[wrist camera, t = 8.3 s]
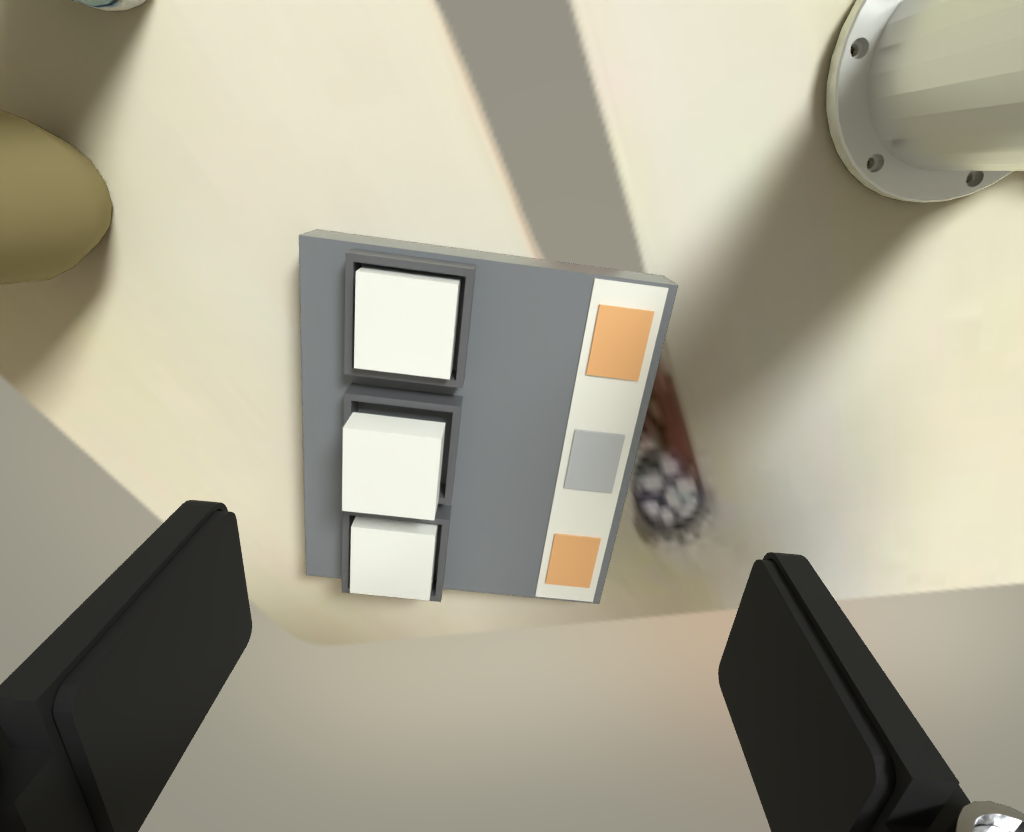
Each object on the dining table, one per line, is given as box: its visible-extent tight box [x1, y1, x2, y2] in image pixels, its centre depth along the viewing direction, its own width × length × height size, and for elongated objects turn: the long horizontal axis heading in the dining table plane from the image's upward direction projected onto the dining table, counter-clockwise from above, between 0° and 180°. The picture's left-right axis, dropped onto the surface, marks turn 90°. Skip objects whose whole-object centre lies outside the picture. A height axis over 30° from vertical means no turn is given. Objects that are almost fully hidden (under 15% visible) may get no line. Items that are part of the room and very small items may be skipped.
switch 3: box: [350, 516, 438, 600], centre depth 35 cm, size 5×5×2 cm
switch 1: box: [354, 265, 461, 380], centre depth 29 cm, size 5×5×2 cm
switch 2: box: [342, 412, 446, 520], centre depth 30 cm, size 5×5×2 cm
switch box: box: [299, 229, 678, 604], centre depth 34 cm, size 20×22×5 cm
